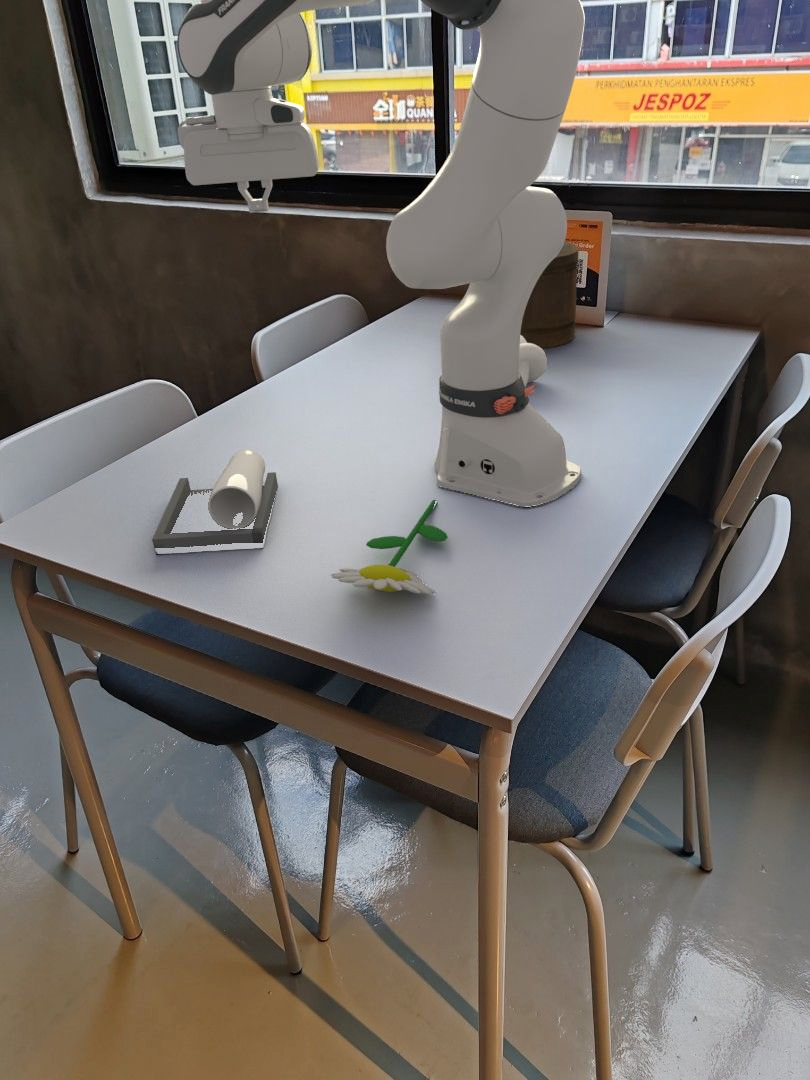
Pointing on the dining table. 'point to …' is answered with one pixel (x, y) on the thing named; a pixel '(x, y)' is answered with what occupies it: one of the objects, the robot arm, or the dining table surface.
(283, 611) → the dining table surface
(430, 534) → the decorative flower
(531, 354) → the white rounded piece
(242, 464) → the drinking glass
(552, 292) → the wooden container
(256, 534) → the tray
